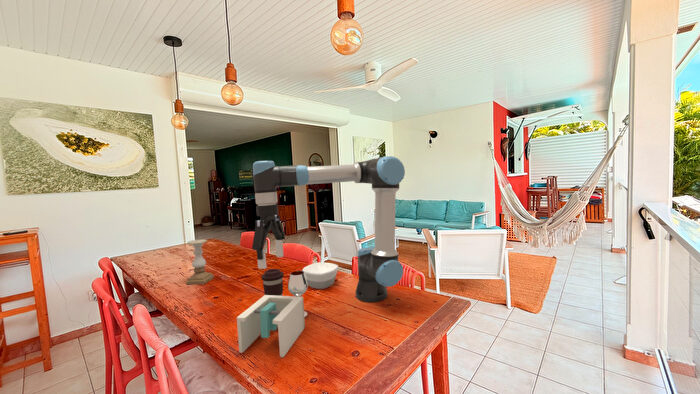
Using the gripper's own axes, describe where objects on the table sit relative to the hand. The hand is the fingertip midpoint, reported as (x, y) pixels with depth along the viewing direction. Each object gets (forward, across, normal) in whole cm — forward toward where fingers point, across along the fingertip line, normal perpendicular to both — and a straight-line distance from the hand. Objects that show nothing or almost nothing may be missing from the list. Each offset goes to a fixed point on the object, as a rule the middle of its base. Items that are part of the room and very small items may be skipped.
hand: (271, 262), depth 101 cm
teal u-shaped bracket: (+23, +7, +1) cm, 24 cm away
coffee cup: (+27, -25, -14) cm, 39 cm away
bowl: (+28, -48, +2) cm, 56 cm away
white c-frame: (+27, +4, 0) cm, 27 cm away
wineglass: (+27, -14, +3) cm, 31 cm away
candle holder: (+26, -47, -72) cm, 90 cm away
